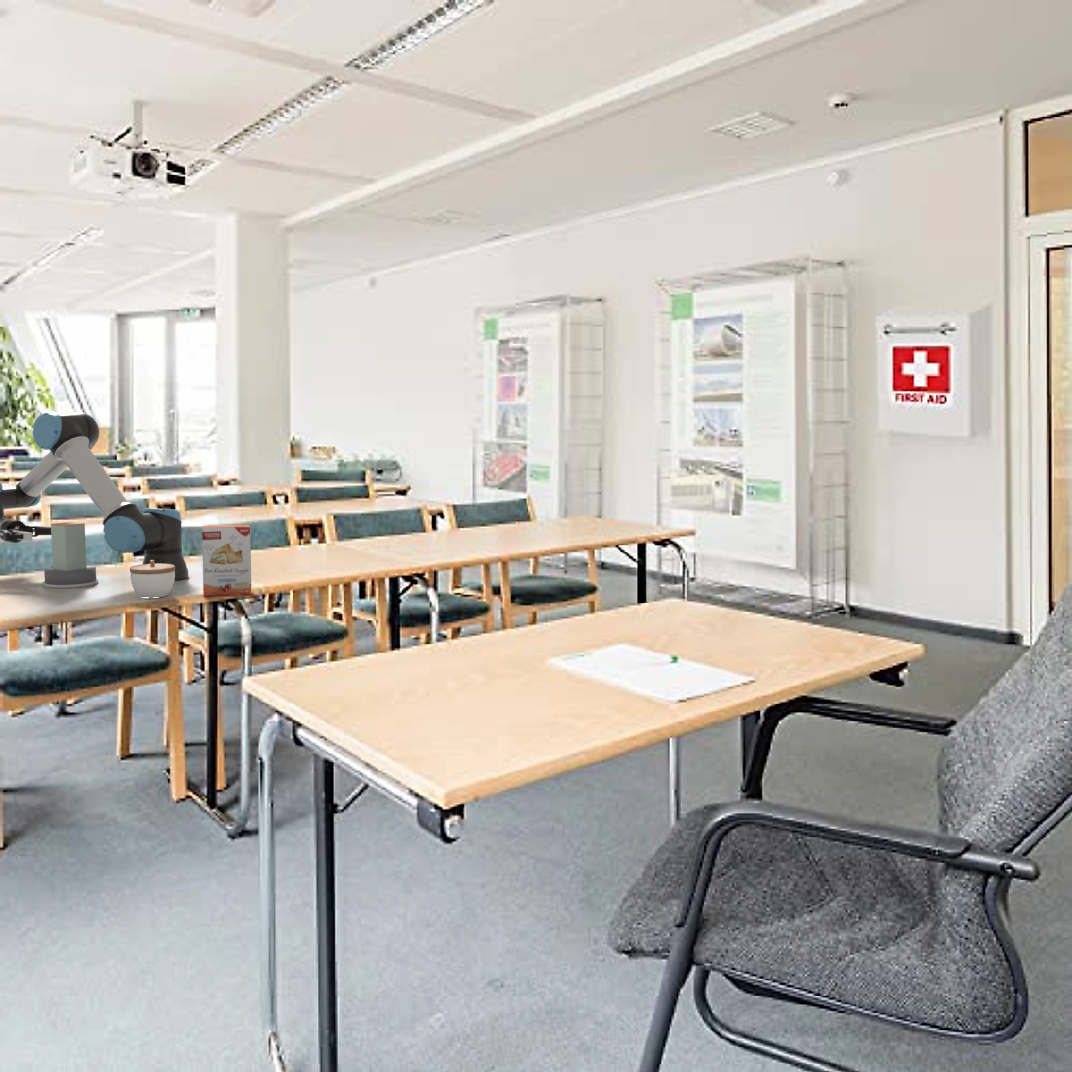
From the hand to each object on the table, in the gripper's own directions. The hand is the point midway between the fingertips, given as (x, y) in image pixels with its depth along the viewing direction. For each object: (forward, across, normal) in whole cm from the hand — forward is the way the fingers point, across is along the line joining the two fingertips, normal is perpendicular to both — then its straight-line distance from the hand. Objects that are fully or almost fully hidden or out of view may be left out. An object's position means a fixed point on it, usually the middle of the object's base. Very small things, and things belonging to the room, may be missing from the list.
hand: (50, 534), depth 336 cm
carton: (+10, +1, -10) cm, 14 cm away
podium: (+10, +1, -15) cm, 18 cm away
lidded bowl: (+50, +2, -16) cm, 52 cm away
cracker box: (+65, -13, -16) cm, 68 cm away
